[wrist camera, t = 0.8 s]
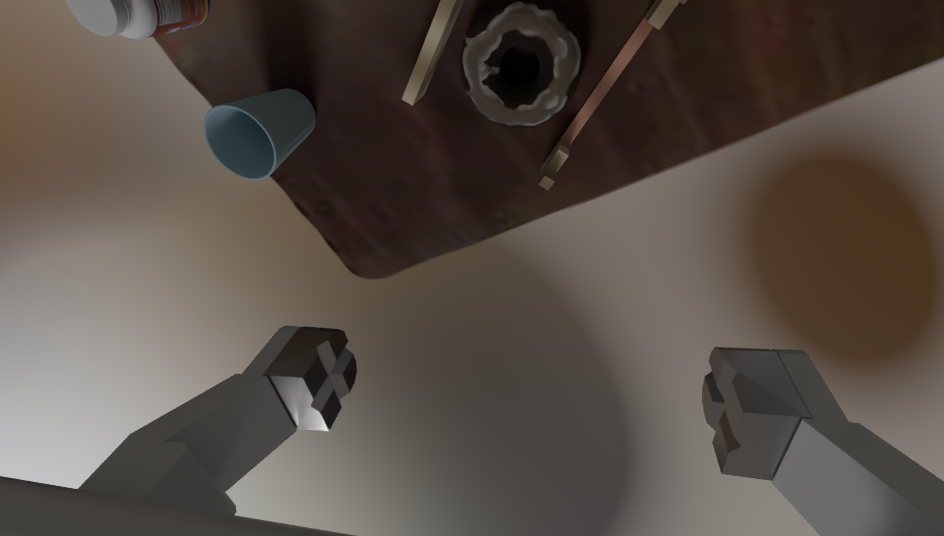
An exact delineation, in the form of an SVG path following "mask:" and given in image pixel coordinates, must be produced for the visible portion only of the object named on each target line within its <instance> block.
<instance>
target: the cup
mask: <svg viewBox="0 0 944 536" xmlns="http://www.w3.org/2000/svg"><path fill="white" fill-rule="evenodd" d="M315 124H316V115H315V111H314V108H313V106H312V104H311V103H310V102H309V100H308V99H307V98H306V97H305V96H304V95H303V94H301V93H300V92H298V91H296V90H293V89H288V88H285V89H281V90H277V91H273V92H269V93H266V94H262V95H258V96H254V97H250V98H246V99H243V100H239V101H234V102H230V103H226V104H222V105H218V106H215V107H213V108H212V109H211V110H209V112H208V113H207V114H206V116H205V119H204V123H203V131H204V136H205V140H206V143H207V145H208V147H209V149H210V150H211V152H212V154H213V155H214V156H215V158H216V159H217V160H218V161H219V162H220V163H221V164H222V165H223V166H224V167H225V168H226V169H227V170H229V171H230V172H232V173H234V174H235V175H237V176H239V177H242V178H245V179H248V180H261V179H264V178H266V177H268V176H269V175H270V174H271V173H272V172H273V171H274V170H275V169H276V168H277V167H278V166H279V165H280V164H281V163H282V162H283V161H284V160H285V159H286V158H287V157H288V156H289V155H290V154H291V153H292V152H293V150H294V149H295V148H296V147H297V146H298V145H299V144H300V143H301V142H302V141H303V140H304V139H305V138H306V137H307V136H308V135H309V134H310V133H311V132H312V130H313V129H314V127H315Z"/></svg>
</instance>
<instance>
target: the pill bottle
mask: <svg viewBox="0 0 944 536" xmlns="http://www.w3.org/2000/svg"><path fill="white" fill-rule="evenodd" d="M66 2H67V4H68V6H69V8H70V10H71V12H72V13H73V14H74V16H75V17H76V18H77V19H78V21H79V22H80V23H81V24H82V25H83V26H85V27H86V28H87V29H89V30H90V31H92V32H93V33H95V34H98V35H102V36H109V35H115V34H120V35H122V36H124V37H127V38H131V39H142V38H147V37H152V36H156V35H161V34H165V33H170V32H175V31H179V30H184V29H188V28H193V27H196V26H198V25H200V24H202V23H203V22H204V20H205V19H206V17H207V14H208V0H66Z"/></svg>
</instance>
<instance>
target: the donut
mask: <svg viewBox="0 0 944 536" xmlns="http://www.w3.org/2000/svg"><path fill="white" fill-rule="evenodd" d="M515 45H526V46H528V47H530V48H531V49H533V50H534V51H535V53H536V54H537V56H538V59H539V62H540V69H539V72H538V75H537V76H536V78H535V79H534V80H533V81H532V82H531V83H529V84H527V85H523V86H517V85H513V84H511V83H510V82H508V81H507V80H506V79H505V77H504V75H503V73H502V70H501V61H502V57H503V55H504V53H505V52H506V51H507V50H508V49H509V48H511V47H512V46H515ZM582 67H583V49H582V45H581V40H580V35H579V33H578V31H577V29H576V27H575V25H574V24H573V22H572V20H571V18H570V16H568V15H567V14H566V13H565V12H564V11H563V10H562V9H561V8H560V7H559V6H558V5H557V4H556V3H554V2H552V1H550V0H497V1H495V2H493V3H492V4H490V5H489V6H487V7H485V8H484V9H483V10H482V11H481V13H480V14H479V15H478V16H477V17H476V18H475V19H474V21H473V22H472V23H471V25H470V27H469V29H468V32H467V34H466V36H465V38H464V40H463V44H462V50H461V56H460V70H461V79H462V82H463V85H464V88H465V90H466V93H467V96H468V97H469V99H470V100H471V101H472V103H473V104H474V106H475V107H476V109H477V110H478V111H480V112H481V113H482V114H483V115H484V116H486V117H487V118H488V119H489V120H491V121H494V122H496V123H498V124H500V125H503V126H506V127H514V128H526V127H532V126H537V125H539V124H541V123H544V122H546V121H548V120H550V119H552V118H553V117H554V116H555V115H557V114H558V113H559V112H560V111H561V110H562V109H564V108H565V106H566V105H567V104H568V102H569V101H570V99H571V98H572V96H573V95H574V93H575V92H576V89H577V87H578V84H579V81H580V78H581V75H582Z"/></svg>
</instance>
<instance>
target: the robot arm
mask: <svg viewBox="0 0 944 536" xmlns="http://www.w3.org/2000/svg"><path fill="white" fill-rule="evenodd" d="M347 343H348V339H347V337H346V335H345V332H344V331H343V330H340V329H330V328H316V327H296V326H284V327H282V328H280V329H279V330H278V331H277V332H276V333H275V334H274V336H273V337H272V338H271V339H270V340H269V342H268V343H267V344H266V345H265V347H264V348H263V349H262V350H261V351H260V353H259V354H258V355H257V356H256V357H255V359H254V360H253V361H252V362H251V364H250V365H249V366H248V367H247V368H246V369H245V371H244V372H243V373H242V374H235V375H233V376H231V377H230V378H228V379H226V380H224V381H223V382H221V383H219V384H217V385H216V386H214V387H212V388H210V389H209V390H207V391H205V392H203V393H202V394H200V395H198V396H197V397H195V398H193V399H191V400H189V401H188V402H186V403H184V404H182V405H181V406H179V407H177V408H175V409H174V410H172V411H170V412H168V413H167V414H165V415H163V416H161V417H160V418H158V419H156V420H154V421H152V422H151V423H149V424H148V425H145V426H144V427H142V428H140V429H138V430H137V431H135V432H133V433H131V434H130V435H129V436H128V437H127V438H126V439H125V440H124V441H123V442H122V444H121V445H119V446H118V448H117V449H116V450H115V451H114V452H113V453H112V454H111V455H110V456H109V457H108V458H107V459H106V460H105V461H104V462H103V463H102V464H101V465H100V466H99V468H98V469H97V470H96V471H95V472H94V473H93V474H92V475H91V476H90V477H89V478H88V479H87V480H86V481H85V482H84V483H83V484H82V485H81V486H80V487H79V488H78V489H73V488H67V487H61V486H55V485H49V484H43V483H37V482H31V481H25V480H20V479H14V478H8V477H2V476H0V536H355V535H349V534H342V533H336V532H331V531H325V530H319V529H312V528H306V527H300V526H295V525H289V524H283V523H277V522H271V521H264V520H259V519H252V518H246V517H240V516H235V515H234V514H235V513H236V505H235V504H234V503H233V502H232V500H231V499H230V498H229V497H228V495H227V494H226V493H225V492H226V491H227V490H228V489H229V488H230V487H232V486H233V485H234V484H235V483H236V482H237V481H238V480H240V479H241V478H242V477H243V476H244V475H246V474H247V473H248V472H249V471H250V470H251V469H253V468H254V467H255V466H256V465H257V464H258V463H260V462H261V461H262V460H263V459H264V458H265V457H267V456H268V455H269V454H270V453H271V452H272V451H274V450H275V449H276V448H277V447H278V446H279V445H281V444H282V443H283V442H284V441H285V440H286V439H288V438H289V437H290V436H291V435H292V434H293V433H295V432H296V429H307V430H320V431H329V430H330V428H331V427H332V425H333V423H334V421H335V419H336V417H337V415H338V413H339V411H340V410H341V408H342V407H341V402H340V399H341V398H342V397H344V396H345V395H347V394H348V393H350V390H351V389H352V387H353V385H354V383H355V378H356V373H357V366H356V360H355V357H354V354H352V353H351V352H350V351H349V350H348V349H347V348H345V347H346V345H347ZM709 363H710V366H711V369H712V372H710V373H709V374H707V375H706V376H705V378H704V383H703V388H702V403H703V409H704V414H705V418H706V421H707V423H708V424H709V425H710V426H711V427H712V428H713V429H714V430H715V431H716V432H715V435H714V439H713V442H712V443H713V446H714V449H715V453H716V457H717V460H718V463H719V467H720V470H721V473H722V474H727V475H734V476H742V477H749V478H757V479H764V480H772V484H773V485H774V486H775V487H776V488H777V489H778V490H779V491H780V492H781V493H782V494H783V496H784V497H785V498H786V499H787V500H788V501H789V502H790V503H791V504H792V505H793V506H794V507H795V509H796V510H797V511H798V512H799V513H800V514H801V515H802V516H803V517H804V518H805V519H806V521H807V522H808V523H809V524H810V525H811V526H812V527H813V528H814V529H815V530H816V531H817V533H818V534H819V535H820V536H944V481H942V480H941V479H939V478H938V477H936V476H935V475H934V474H932V473H931V472H929V471H928V470H926V469H925V468H923V467H922V466H920V465H919V464H918V463H916V462H915V461H913V460H912V459H910V458H909V457H907V456H906V455H904V454H903V453H902V452H900V451H898V450H897V449H896V448H894V447H893V446H891V445H890V444H888V443H887V442H885V441H884V440H883V439H881V438H880V437H878V436H877V435H875V434H874V433H873V432H871V431H870V430H868V429H867V428H865V427H864V426H862V425H861V424H859V423H851V422H848V420H847V418H846V417H845V415H844V413H843V412H842V410H841V408H840V407H839V405H838V403H837V402H836V400H835V398H834V397H833V395H832V393H831V392H830V390H829V388H828V387H827V385H826V384H825V382H824V380H823V379H822V377H821V375H820V374H819V372H818V370H817V369H816V367H815V365H814V364H813V362H812V360H811V359H810V357H809V355H808V354H807V353H805V352H804V351H803V350H782V349H772V350H770V349H751V348H725V347H714V349H713V350H712V352H711V355H710V358H709Z"/></svg>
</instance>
